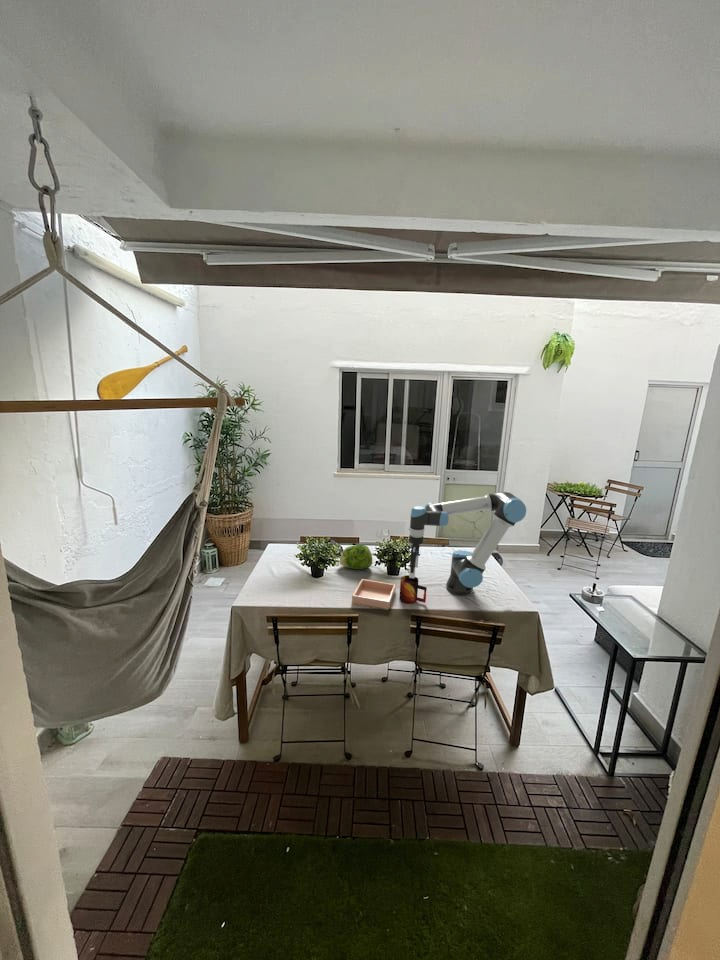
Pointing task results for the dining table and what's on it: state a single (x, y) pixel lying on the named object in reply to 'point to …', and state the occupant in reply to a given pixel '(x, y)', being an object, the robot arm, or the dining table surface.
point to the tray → (374, 594)
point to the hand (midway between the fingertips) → (413, 572)
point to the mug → (410, 590)
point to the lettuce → (356, 557)
